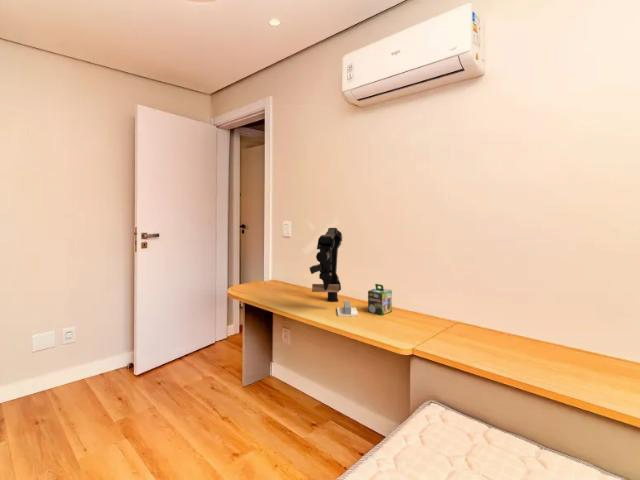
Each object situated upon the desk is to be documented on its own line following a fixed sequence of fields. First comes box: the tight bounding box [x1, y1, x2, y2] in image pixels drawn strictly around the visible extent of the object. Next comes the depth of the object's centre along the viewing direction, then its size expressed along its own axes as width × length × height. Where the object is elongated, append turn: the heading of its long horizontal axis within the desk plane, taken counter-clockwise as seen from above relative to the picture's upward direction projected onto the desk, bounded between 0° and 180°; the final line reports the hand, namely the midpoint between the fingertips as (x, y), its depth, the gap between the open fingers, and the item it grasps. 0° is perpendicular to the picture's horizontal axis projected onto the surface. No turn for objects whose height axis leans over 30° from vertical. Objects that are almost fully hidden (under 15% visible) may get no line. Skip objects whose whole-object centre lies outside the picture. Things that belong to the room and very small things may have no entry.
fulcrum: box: [336, 300, 359, 317], centre depth 181 cm, size 12×10×4 cm
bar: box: [311, 283, 340, 293], centre depth 186 cm, size 3×14×4 cm, turn 88°
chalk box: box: [367, 283, 393, 316], centre depth 183 cm, size 9×9×15 cm
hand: (325, 289), depth 186 cm, fingers closed on bar, 3 cm apart
